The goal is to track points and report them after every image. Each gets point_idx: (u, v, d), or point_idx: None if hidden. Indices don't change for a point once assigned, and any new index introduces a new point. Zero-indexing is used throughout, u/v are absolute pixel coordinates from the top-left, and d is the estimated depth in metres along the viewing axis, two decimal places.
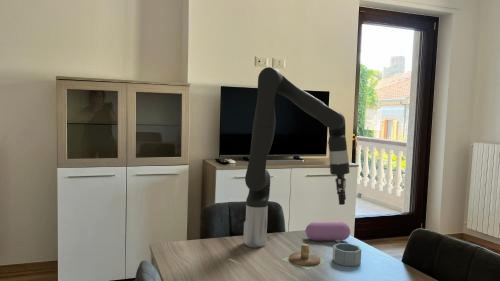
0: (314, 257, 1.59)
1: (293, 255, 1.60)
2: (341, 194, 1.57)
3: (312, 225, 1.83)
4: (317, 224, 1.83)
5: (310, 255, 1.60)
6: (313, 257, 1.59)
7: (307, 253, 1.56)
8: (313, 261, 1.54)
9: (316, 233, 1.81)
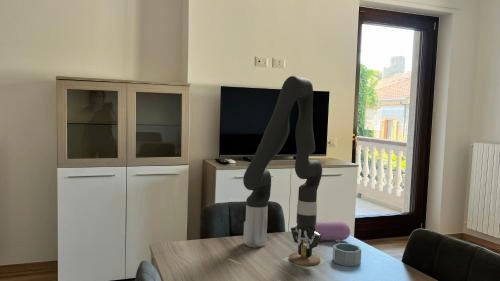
0: (314, 257, 1.59)
1: (293, 255, 1.60)
2: (313, 247, 1.55)
3: None
4: (317, 224, 1.83)
5: None
6: (313, 257, 1.59)
7: None
8: (313, 261, 1.54)
9: None
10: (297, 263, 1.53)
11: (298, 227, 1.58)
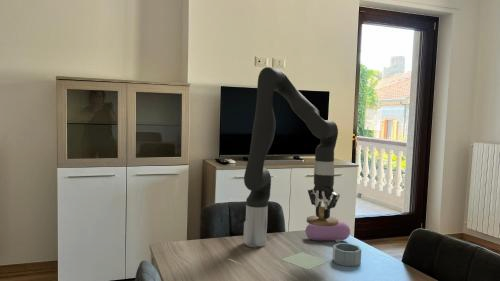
0: (332, 219, 1.57)
1: (310, 217, 1.58)
2: None
3: (312, 225, 1.83)
4: None
5: None
6: (330, 219, 1.57)
7: None
8: (331, 222, 1.53)
9: (316, 233, 1.81)
10: (315, 224, 1.51)
11: (315, 189, 1.57)
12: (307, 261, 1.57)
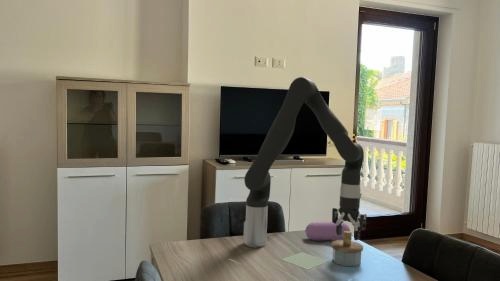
0: (356, 244, 1.59)
1: (335, 242, 1.60)
2: (361, 229, 1.53)
3: (312, 225, 1.83)
4: (317, 224, 1.83)
5: (352, 242, 1.60)
6: (355, 244, 1.59)
7: (350, 240, 1.56)
8: (356, 248, 1.54)
9: (316, 233, 1.81)
10: (341, 250, 1.53)
11: (341, 211, 1.58)
12: (307, 261, 1.57)
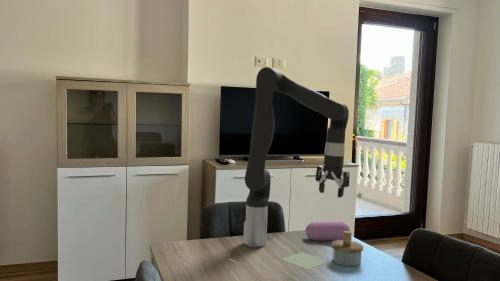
0: (356, 244, 1.59)
1: (335, 242, 1.60)
2: None
3: (312, 225, 1.83)
4: (317, 224, 1.83)
5: (352, 242, 1.60)
6: (355, 244, 1.59)
7: (350, 240, 1.56)
8: (356, 248, 1.54)
9: (316, 233, 1.81)
10: (341, 250, 1.53)
11: (325, 169, 1.61)
12: (307, 261, 1.57)
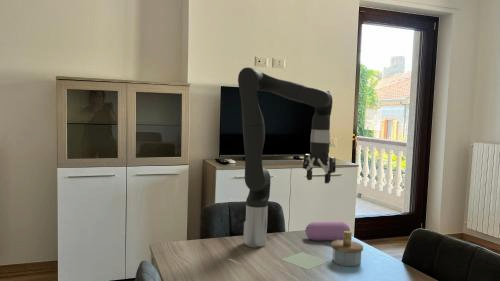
0: (356, 244, 1.59)
1: (335, 242, 1.60)
2: None
3: (312, 225, 1.83)
4: (317, 224, 1.83)
5: (352, 242, 1.60)
6: (355, 244, 1.59)
7: (350, 240, 1.56)
8: (356, 248, 1.54)
9: (316, 233, 1.81)
10: (341, 250, 1.53)
11: (311, 157, 1.64)
12: (307, 261, 1.57)
